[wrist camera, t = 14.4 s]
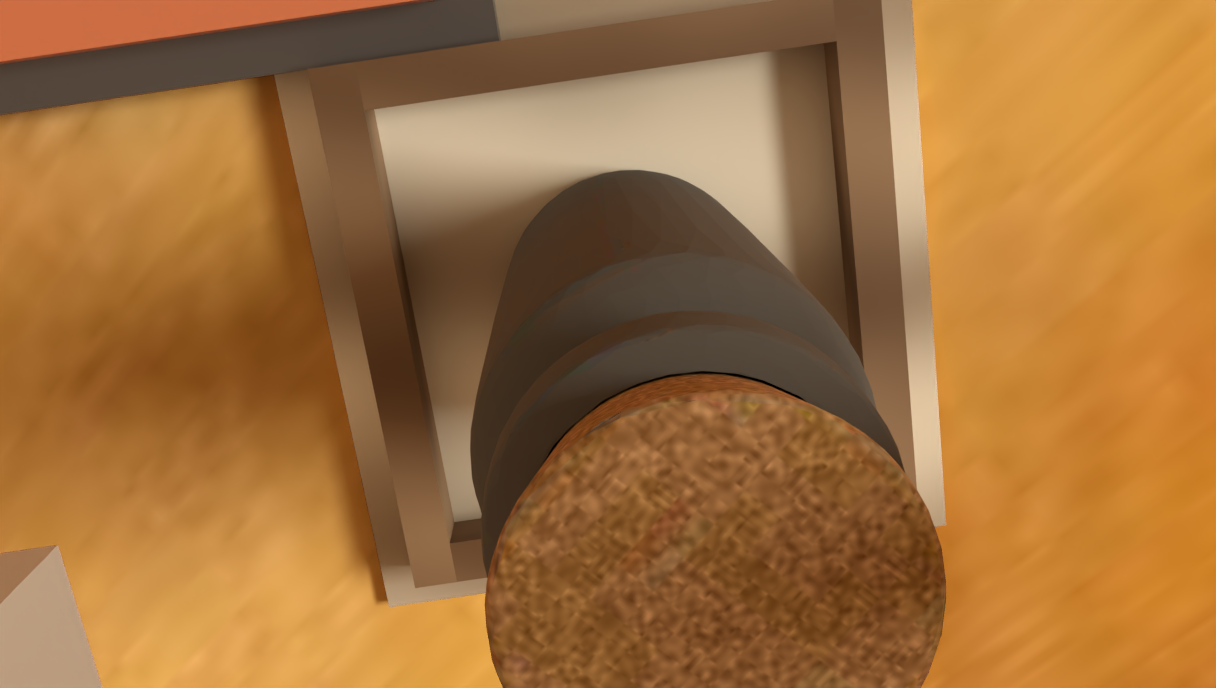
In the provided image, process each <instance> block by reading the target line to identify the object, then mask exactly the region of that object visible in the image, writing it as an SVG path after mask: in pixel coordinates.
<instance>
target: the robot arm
mask: <svg viewBox="0 0 1216 688" xmlns="http://www.w3.org/2000/svg"><path fill="white" fill-rule="evenodd" d="M0 688H102V684H101V681H100V678H99V675H98V672H97V668H96V665H95V662H94V659H93V656H92V653H91V649H90V646H89V643H88V640H87V637H86V633H85V630H84V627H83V624H82V621H81V617H80V614H79V611H78V608H77V605H76V602H75V598H74V595H73V592H72V589H71V586H70V582H69V579H68V576H67V573H66V570H65V566H64V563H63V560H62V557H61V554H60V550H59V547H58V545H54V546H47V547H40V548H33V549H26V550H19V551H13V552H6V553H0Z"/></svg>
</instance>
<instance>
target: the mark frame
mask: <svg viewBox="0 0 1216 688" xmlns="http://www.w3.org/2000/svg"><path fill="white" fill-rule="evenodd" d="M495 6H496V12H497V18H498V25H499V31H500V37H501V41H495V42H488V43H481V44H474V45H467V46H461V47H454V48H447V49H440V50H433V51H427V52H420V53H413V54H406V55H400V56H393V57H386V58H379V59H372V60H366V61H359V62H352V63H345V64H339V65H332V66H325V67H318V68H311V69H307V70H302V71H296V72H289V73H282V74H275V75H274V78H275V82H276V87H277V92H278V96H279V101H280V106H281V110H282V115H283V119H284V124H285V129H286V133H287V138H288V142H289V147H290V152H291V156H292V161H293V166H294V170H295V175H296V179H297V184H298V189H299V193H300V198H301V202H302V207H303V212H304V216H305V221H306V226H307V230H308V235H309V239H310V244H311V249H312V253H313V258H314V262H315V267H316V272H317V276H318V281H319V286H320V290H321V295H322V299H323V304H324V309H325V313H326V318H327V322H328V327H329V332H330V336H331V341H332V346H333V350H334V355H335V359H336V364H337V369H338V373H339V378H340V382H341V387H342V392H343V396H344V401H345V406H346V410H347V415H348V419H349V424H350V429H351V433H352V438H353V442H354V447H355V452H356V456H357V461H358V466H359V470H360V475H361V479H362V484H363V489H364V493H365V498H366V502H367V507H368V512H369V516H370V521H371V526H372V530H373V535H374V539H375V544H376V549H377V553H378V558H379V563H380V567H381V572H382V576H383V581H384V586H385V590H386V595H387V599H388V604H389V607H394V606H401V605H407V604H414V603H421V602H428V601H435V600H441V599H448V598H455V597H462V596H469V595H475V594H482V593H486V584H487V579H488V578H487V574H486V570H485V566H484V562H483V554H482V542H481V515H482V513H481V510H480V507H479V503H478V500H477V497H476V494H475V489H474V485H473V480H472V471H471V457H470V435H471V425H472V419H473V413H474V406H475V400H476V395H477V391H478V386H479V382H480V377H481V373H482V369H483V365H484V361H485V356H486V352H487V348H488V344H489V339H490V335H491V331H492V327H493V323H494V318H495V315H496V311H497V307H498V304H499V300H500V296H501V293H502V289H503V286H504V282H505V278H506V275H507V271H508V268H509V265H510V262H511V259H512V256H513V253H514V250H515V248H516V246H517V244H518V242H519V240H520V238H521V236H522V234H523V232H524V231H525V229H526V228H527V226H528V225H529V224H530V222H531V221H532V220H533V218H534V217H535V216H536V215H537V214H538V213H539V212H540V211H541V209H542V208H543V207H544V206H545V205H546V204H547V203H548V202H550V201H551V200H552V199H553V198H555V197H556V196H557V195H558V194H560V193H561V192H562V191H564V190H565V189H567V188H569V187H571V186H573V185H575V184H576V183H578V182H580V181H582V180H585V179H588V178H591V177H594V176H597V175H600V174H603V173H608V172H614V171H620V170H645V171H652V172H658V173H663V174H668V175H671V176H674V177H677V178H680V179H682V180H684V181H687V182H689V183H691V184H693V185H694V186H696V187H698V188H700V189H701V190H703V191H705V192H706V193H707V194H709V195H710V196H712V197H713V198H714V199H716V200H717V201H718V202H719V203H720V204H721V205H722V206H724V207H725V208H726V209H727V210H728V211H729V212H730V213H731V214H732V215H733V216H734V217H735V218H737V219H738V220H739V221H740V222H741V223H742V224H743V225H744V226H745V227H746V228H747V229H748V230H749V231H750V232H751V233H752V234H753V235H754V236H755V237H756V238H757V239H758V240H759V241H760V242H761V243H762V244H763V245H764V246H765V247H766V248H767V249H768V250H769V251H770V252H771V253H772V254H773V255H774V256H775V257H776V258H777V259H778V260H779V261H780V262H781V263H782V264H783V265H784V266H785V267H786V268H787V269H788V270H789V271H790V272H791V273H792V274H793V275H794V276H795V277H796V278H797V279H798V280H799V281H800V282H801V283H802V284H803V285H804V286H805V288H806V289H807V290H808V291H809V292H810V293H811V294H812V295H813V296H814V297H815V298H816V299H817V300H818V301H819V303H820V304H821V305H822V306H823V307H824V308H825V309H826V310H827V311H828V312H829V313H830V315H831V316H832V317H833V319H834V320H835V321H836V323H837V324H838V325H839V327H840V328H841V329H842V331H843V333H844V334H845V336H846V337H847V339H848V340H849V342H850V344H851V345H852V347H853V348H854V350H855V351H856V353H857V355H858V356H859V359H860V361H861V364H862V366H863V369H864V371H865V374H866V376H867V379H868V381H869V384H870V386H871V389H872V392H873V396H874V401H875V405H876V409H877V411H878V413H879V414H880V416H881V417H882V419H883V421H884V422H885V424H886V425H887V427H888V428H889V430H890V433H891V435H892V437H893V439H894V441H895V443H896V445H897V447H898V450H899V453H900V457H901V460H902V464H903V467H904V470H905V474H906V475H907V476H908V478H909V479H910V480H911V482H912V483H913V484H914V486H915V487H916V489H917V491H918V493H919V494H920V496H921V498H922V500H923V501H924V503H925V505H926V507H927V508H928V510H929V512H930V515H931V518H932V521H933V524H934V527H937V526H944V525H946V515H945V500H944V485H943V469H942V454H941V439H940V424H939V408H938V393H937V378H936V362H935V347H934V332H933V317H932V301H931V286H930V271H929V256H928V240H927V225H926V210H925V195H924V179H923V164H922V149H921V133H920V118H919V103H918V88H917V72H916V57H915V42H914V27H913V11H912V0H495Z"/></svg>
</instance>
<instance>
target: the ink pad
mask: <svg viewBox="0 0 1216 688" xmlns="http://www.w3.org/2000/svg"><path fill="white" fill-rule="evenodd" d="M495 41H501V37H500V31H499V25H498V18H497V12H496V6H495V0H0V115H5V114H12V113H18V112H25V111H32V110H39V109H46V108H52V107H59V106H66V105H73V104H79V103H86V102H93V101H100V100H107V99H113V98H120V97H127V96H134V95H141V94H147V93H154V92H161V91H168V90H174V89H181V88H188V87H195V86H202V85H208V84H215V83H222V82H229V81H236V80H242V79H249V78H256V77H263V76H269V75H275V74H282V73H289V72H296V71H302V70H307V69H311V68H318V67H325V66H332V65H339V64H345V63H352V62H359V61H366V60H372V59H379V58H386V57H393V56H400V55H406V54H413V53H420V52H427V51H433V50H440V49H447V48H454V47H461V46H467V45H474V44H481V43H488V42H495Z"/></svg>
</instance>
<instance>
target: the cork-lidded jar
mask: <svg viewBox="0 0 1216 688" xmlns="http://www.w3.org/2000/svg"><path fill="white" fill-rule="evenodd" d="M470 457H471V471H472V480H473V485H474V489H475V494H476V497H477V500H478V503H479V507H480V510H481V513H482V515H481V542H482V554H483V562H484V566H485V570H486V574H487V578H488V579H487V584H486V596H485V614H486V627H487V633H488V639H489V645H490V650H491V656H492V661H493V664H494V667H495V669H496V672H497V675H498V677H499V679H500V681H501V684H502V686H503V688H921V686H922V684H923V682H924V680H925V679H926V677H927V675H928V673H929V670H930V667H931V664H932V661H933V658H934V655H935V652H936V649H937V646H938V643H939V640H940V637H941V634H942V627H943V619H944V611H945V603H946V579H945V571H944V563H943V556H942V548H941V545H940V542H939V539H938V536H937V533H936V530H935V527H934V524H933V521H932V518H931V515H930V512H929V510H928V508H927V507H926V505H925V503H924V501H923V500H922V498H921V496H920V494H919V493H918V491H917V489H916V487H915V486H914V484H913V483H912V482H911V480H910V479H909V478H908V476H907V475H906V474H905V470H904V467H903V464H902V460H901V457H900V453H899V450H898V447H897V445H896V443H895V441H894V439H893V437H892V435H891V433H890V430H889V428H888V427H887V425H886V424H885V422H884V421H883V419H882V417H881V416H880V414H879V413H878V411H877V409H876V405H875V401H874V396H873V392H872V389H871V386H870V384H869V381H868V379H867V376H866V374H865V371H864V369H863V366H862V364H861V361H860V359H859V356H858V355H857V353H856V351H855V350H854V348H853V347H852V345H851V344H850V342H849V340H848V339H847V337H846V336H845V334H844V333H843V331H842V329H841V328H840V327H839V325H838V324H837V323H836V321H835V320H834V319H833V317H832V316H831V315H830V313H829V312H828V311H827V310H826V309H825V308H824V307H823V306H822V305H821V304H820V303H819V301H818V300H817V299H816V298H815V297H814V296H813V295H812V294H811V293H810V292H809V291H808V290H807V289H806V288H805V286H804V285H803V284H802V283H801V282H800V281H799V280H798V279H797V278H796V277H795V276H794V275H793V274H792V273H791V272H790V271H789V270H788V269H787V268H786V267H785V266H784V265H783V264H782V263H781V262H780V261H779V260H778V259H777V258H776V257H775V256H774V255H773V254H772V253H771V252H770V251H769V250H768V249H767V248H766V247H765V246H764V245H763V244H762V243H761V242H760V241H759V240H758V239H757V238H756V237H755V236H754V235H753V234H752V233H751V232H750V231H749V230H748V229H747V228H746V227H745V226H744V225H743V224H742V223H741V222H740V221H739V220H738V219H737V218H735V217H734V216H733V215H732V214H731V213H730V212H729V211H728V210H727V209H726V208H725V207H724V206H722V205H721V204H720V203H719V202H718V201H717V200H716V199H714V198H713V197H712V196H710V195H709V194H707V193H706V192H705V191H703V190H701V189H700V188H698V187H696V186H694V185H693V184H691V183H689V182H687V181H684V180H682V179H680V178H677V177H674V176H671V175H668V174H663V173H658V172H652V171H645V170H620V171H614V172H608V173H603V174H600V175H597V176H594V177H591V178H588V179H585V180H582V181H580V182H578V183H576V184H575V185H573V186H571V187H569V188H567V189H565V190H564V191H562V192H561V193H560V194H558V195H557V196H556V197H555V198H553V199H552V200H551V201H550V202H548V203H547V204H546V205H545V206H544V207H543V208H542V209H541V211H540V212H539V213H538V214H537V215H536V216H535V217H534V218H533V220H532V221H531V222H530V224H529V225H528V226H527V228H526V229H525V231H524V232H523V234H522V236H521V238H520V240H519V242H518V244H517V246H516V248H515V250H514V253H513V256H512V259H511V262H510V265H509V268H508V271H507V275H506V278H505V282H504V286H503V289H502V293H501V296H500V300H499V304H498V307H497V311H496V315H495V318H494V323H493V327H492V331H491V335H490V339H489V344H488V348H487V352H486V356H485V361H484V365H483V369H482V373H481V377H480V382H479V386H478V391H477V395H476V400H475V406H474V413H473V419H472V425H471V435H470Z"/></svg>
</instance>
